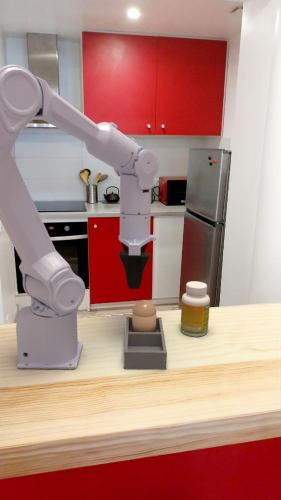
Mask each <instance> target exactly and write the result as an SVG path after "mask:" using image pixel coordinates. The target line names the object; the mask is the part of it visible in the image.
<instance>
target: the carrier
mask: <svg viewBox="0 0 281 500" xmlns="http://www.w3.org/2000/svg"><path fill="white" fill-rule="evenodd" d="M124 331H125V332H124V333H125V336H124V351H123V353H124V354H123V359H124V360H123V361H124V363H123V368H124V370H167V359H168V351H167V350H168V349H167V345H166V344H167V343H166V338H165V332H164V326H163V319H162V317H159V316H156V332H132V316H126V318H125V330H124Z"/></svg>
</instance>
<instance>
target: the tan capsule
mask: <svg viewBox="0 0 281 500" xmlns="http://www.w3.org/2000/svg"><path fill="white" fill-rule="evenodd" d="M131 315H132V316H131V317H132V332H156V317H157V308H156V306H155V304H154V303H153V302H151V301H150V300H147V299H141V300H139V301H137V302H136V303H135V304H134V305H133V308H132V314H131Z"/></svg>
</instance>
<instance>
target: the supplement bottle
mask: <svg viewBox="0 0 281 500" xmlns="http://www.w3.org/2000/svg"><path fill="white" fill-rule="evenodd" d="M207 292H208V285H207V283H205V282H202V281H196V280H195V281H193V280H192V281H188V282H187V283H186V284H185V293H183V294H182V297H181V312H180V326H179V327H180V331H181V333H182V334H185V335H186V336H189V337H196V338H197V337H203V336H205V335H206V334H208V330H209V317H210V307H211V305H210V304H211V299H210V295H208V294H207Z"/></svg>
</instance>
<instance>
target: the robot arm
mask: <svg viewBox="0 0 281 500" xmlns="http://www.w3.org/2000/svg"><path fill="white" fill-rule="evenodd" d="M33 120H34V121H35V120H36V121H37V120H39V121H40V120H41V121H45V122H46V123H47V124H50V125H51V126H53V127H55V128H57V129H59V130H61V131H63V132H65V133H67V134H68V135H70V136H72V137H74V138H76V139H77V140H80V141H82V142H84V143H85V147H86V151H87V153H88V154H89V155H91V156H93V157H94V158H95V159H97V160H100V161H101V162H103V163H104V164H106V165H108V166H110V167H111V168H112V169H113V170H114V172H115V174H116V176H117V177H119V178H120V179H119V235H118V240H119V242H120V245H121V247H122V249H123V250H119V251H118V257H119V260H120V261H121V263H122V266H123V269H124V272H125V279H126V286H127V288H128V289H129V290H140V288H141V286H142V280H143V275H144V271H145V268H146V266H147V263H148V262H149V260H150V257H151V252H146V249H147V248H148V246H149V242H151V241H153V242H154V241H156V240H157V236H156V234H151V208H152V207H151V206H152V205H151V203H152V189H153V187H154V185H155V183H154V182H155V177H156V175H157V173H158V171H159V167H160V162H158V157H157V154H156V153H155V152H154V150H153V149H152V148H150V147H149V146H147V145H139V144H138V143H137V142H136V139H135V138H134V137H128V136H127V135H125V134H124V133H123V132H121V131H120V130H118V125H117V124H115V122H112V121H111V122H106V121H103V122H99V123H95V122H94V121H93V120H91V119H90V118H89V117H88V116H87V115H85V114H84V113H82V112H81V111H80V110H79V109H77V108H76V107H74V106H73V105H72V104H71V103H70V102H68V101H67V100H66V99H64V98H63V97H62V96H60V95H59V94H57V93H56V92H55V91H54V90H53V89H52V88H51V87H50V85H49V84H48V82H47V81H46V80H45V79H43V78H40V77H39V76H37V75H36V76H35V75H34V74H33V73H32V72H31V71H30V70H29V69H28V68H25V67H23V66H21V65H18V64H8V65H5V66H2V67H1V68H0V222H1V225H2V226H3V228H4V230H5V232H6V234H7V235H8V238H9V239H10V242H11V243H12V245H13V247H14V249H15V251H16V253H17V254H18V255H17V256H18V257H19V259H20V260H21V262H20V264H19V267H18V269H19V270H20V272H21V275H22V287H23V290H24V292H25V293H26V295H28V296H29V297H30V303H31V304H30V305H28V306H27V305H26V306H21V307H20V309H19V311H18V314H17V317H16V324H15V331H16V333H15V334H16V346H17V347H16V348H17V349H16V350H17V358H18V359H17V362H18V363H17V364H16V367H17V368H18V369H55V370H56V369H60V370H61V369H67V370H68V369H69V370H70V369H71V370H73V369H74V370H75V369H77V367H78V365H79V364H78V363H79V362H80V361H79V360H80V357H81V354H82V349H83V345H84V342H82V341H78V311H79V307H80V306H81V304H82V303H83V301H84V299H85V294H86V285H85V282H84V281H83V279H82V278H81V277H80V276H78V275H77V274H75V273H74V271H73V270H72V268H71V265H70V264H69V263H68V261H66V260H65V258H63V256H62V255H61V254H60V253H59V252H58V251H57V250H56V248H55V245H54V244H53V241H52V238H51V237H50V235H49V233H48V230H47V228H46V226H45V224H44V221H43V219H42V217H41V215H40V213H39V211H38V208H37V207H36V205H35V202H34V200H33V197H32V196H31V193H30V191H29V189H28V187H27V185H26V182H25V180H24V178H23V175H22V174H21V172H20V170H19V167H18V165H17V163H16V161H15V159H14V156H13V154H12V150H13V147H14V146H15V144H16V141H17V138H18V137H19V134H20V132H21V131H22V130H24V128H25V127H26V126H27V125H29V123H30V122H31V121H33Z"/></svg>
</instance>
